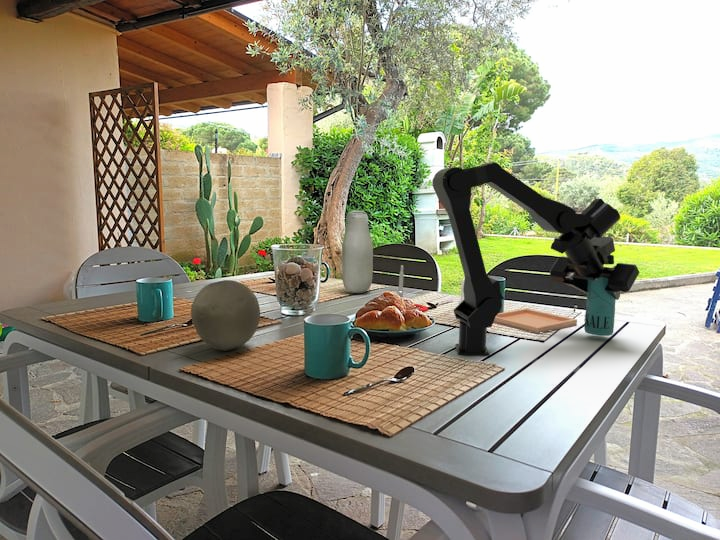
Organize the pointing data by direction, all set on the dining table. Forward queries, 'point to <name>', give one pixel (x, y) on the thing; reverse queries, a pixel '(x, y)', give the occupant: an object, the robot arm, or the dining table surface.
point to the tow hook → (400, 292)
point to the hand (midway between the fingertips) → (604, 295)
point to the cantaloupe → (225, 314)
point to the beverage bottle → (599, 307)
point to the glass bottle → (357, 253)
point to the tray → (533, 320)
